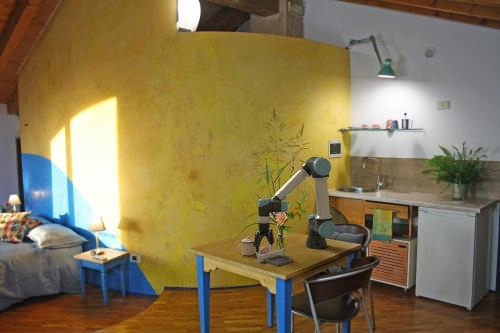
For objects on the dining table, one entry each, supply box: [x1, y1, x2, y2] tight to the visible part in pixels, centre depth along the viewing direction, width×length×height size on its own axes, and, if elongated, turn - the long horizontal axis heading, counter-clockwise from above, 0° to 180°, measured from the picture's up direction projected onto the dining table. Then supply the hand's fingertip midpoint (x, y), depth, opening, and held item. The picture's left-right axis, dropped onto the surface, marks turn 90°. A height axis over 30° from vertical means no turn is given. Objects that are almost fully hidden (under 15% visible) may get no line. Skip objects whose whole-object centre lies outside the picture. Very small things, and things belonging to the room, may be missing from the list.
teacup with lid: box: [237, 235, 256, 256], centre depth 273 cm, size 12×9×12 cm
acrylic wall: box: [256, 247, 286, 263], centre depth 262 cm, size 23×2×5 cm, turn 131°
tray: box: [263, 255, 294, 267], centre depth 256 cm, size 14×12×2 cm
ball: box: [260, 245, 269, 255], centre depth 269 cm, size 6×6×6 cm
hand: (264, 255), depth 269 cm, fingers open, 10 cm apart
